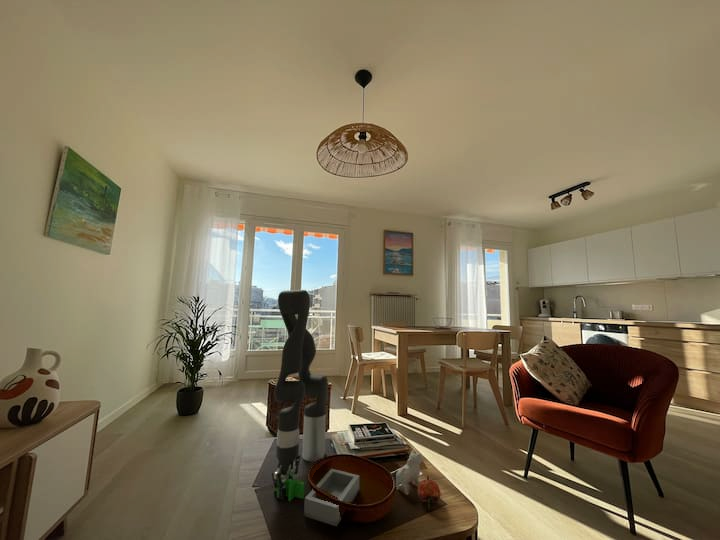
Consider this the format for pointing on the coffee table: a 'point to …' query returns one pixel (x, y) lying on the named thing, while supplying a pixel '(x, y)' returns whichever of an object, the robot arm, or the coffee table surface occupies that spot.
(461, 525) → the coffee table surface
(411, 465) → the dog figurine
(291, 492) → the pipe clamp
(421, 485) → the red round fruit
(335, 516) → the bin
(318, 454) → the robot arm
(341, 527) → the coffee table surface
